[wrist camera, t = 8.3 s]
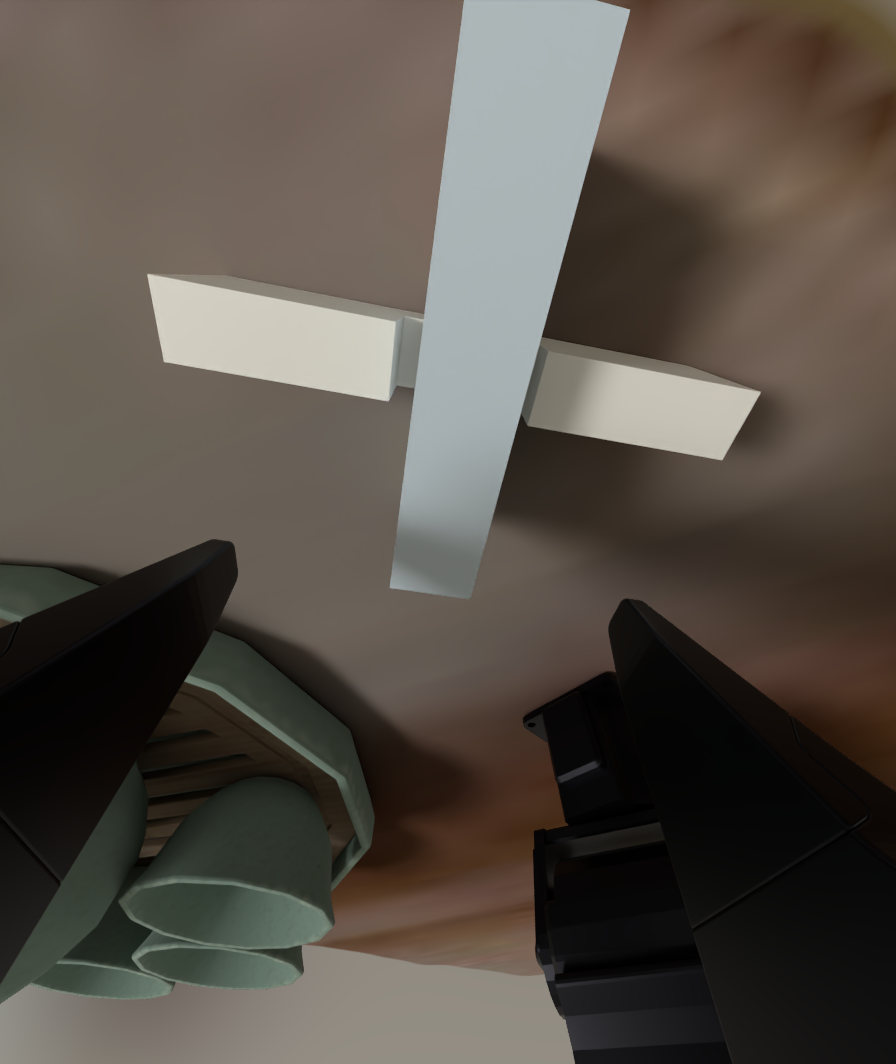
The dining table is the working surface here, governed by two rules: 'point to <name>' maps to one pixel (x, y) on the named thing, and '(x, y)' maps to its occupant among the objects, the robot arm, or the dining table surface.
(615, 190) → the dining table surface
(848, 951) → the robot arm
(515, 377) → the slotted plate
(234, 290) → the slotted rib
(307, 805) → the tea set
